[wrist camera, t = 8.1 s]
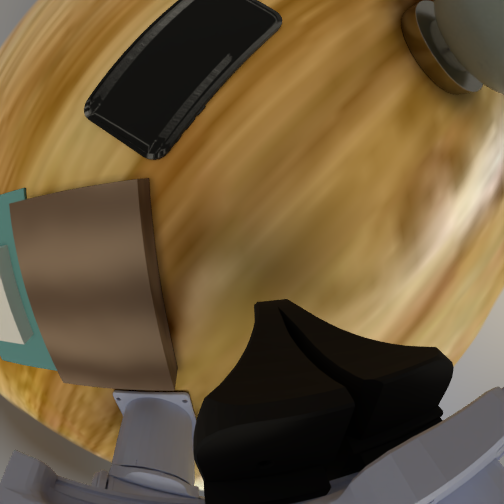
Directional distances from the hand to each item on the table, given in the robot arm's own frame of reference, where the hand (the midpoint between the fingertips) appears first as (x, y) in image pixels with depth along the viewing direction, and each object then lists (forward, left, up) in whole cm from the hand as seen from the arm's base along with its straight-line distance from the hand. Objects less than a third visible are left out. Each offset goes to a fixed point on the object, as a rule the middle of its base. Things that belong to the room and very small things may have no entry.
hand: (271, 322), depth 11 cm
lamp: (+21, -21, -10) cm, 31 cm away
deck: (-2, +12, -9) cm, 15 cm away
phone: (+15, +4, -10) cm, 18 cm away
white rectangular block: (-2, +24, -8) cm, 26 cm away
